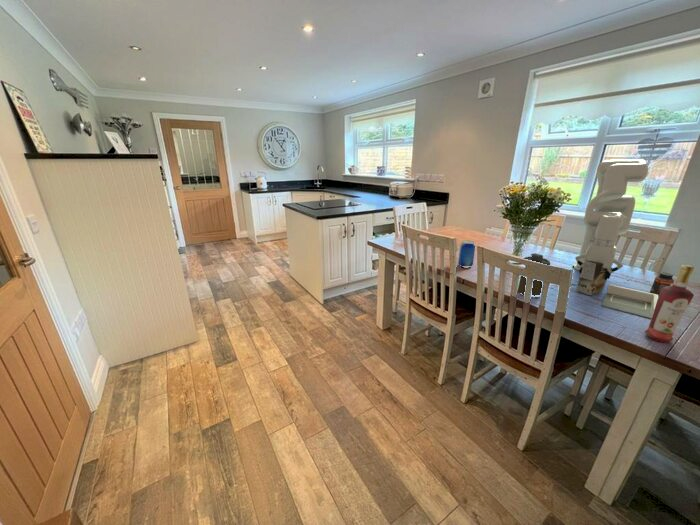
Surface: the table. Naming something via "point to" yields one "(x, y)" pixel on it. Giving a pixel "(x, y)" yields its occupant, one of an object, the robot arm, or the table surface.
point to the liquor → (670, 307)
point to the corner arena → (630, 301)
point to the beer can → (466, 253)
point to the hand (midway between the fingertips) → (593, 276)
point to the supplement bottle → (661, 282)
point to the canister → (536, 284)
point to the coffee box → (592, 278)
